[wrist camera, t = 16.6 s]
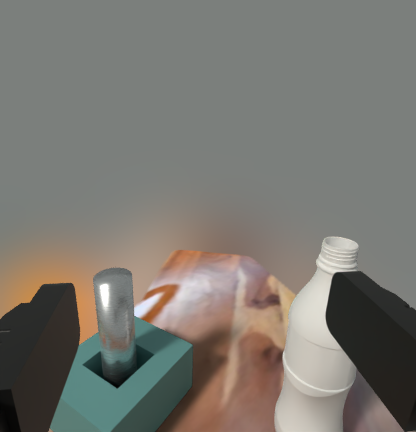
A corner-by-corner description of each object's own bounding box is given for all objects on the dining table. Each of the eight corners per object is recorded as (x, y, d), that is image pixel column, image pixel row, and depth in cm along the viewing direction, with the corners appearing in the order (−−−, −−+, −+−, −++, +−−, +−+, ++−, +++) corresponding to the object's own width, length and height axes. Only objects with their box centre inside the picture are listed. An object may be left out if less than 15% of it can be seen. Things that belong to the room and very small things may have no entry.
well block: (129, 349, 48) (127, 312, 45) (192, 386, 42) (193, 344, 39) (42, 421, 36) (33, 376, 34) (111, 485, 30) (106, 435, 28)
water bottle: (345, 481, 31) (402, 265, 23) (274, 471, 32) (306, 257, 24) (327, 416, 38) (367, 231, 30) (269, 408, 39) (293, 226, 31)
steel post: (123, 382, 41) (114, 264, 35) (145, 396, 39) (139, 274, 33) (99, 404, 38) (84, 279, 32) (122, 421, 36) (111, 291, 30)
